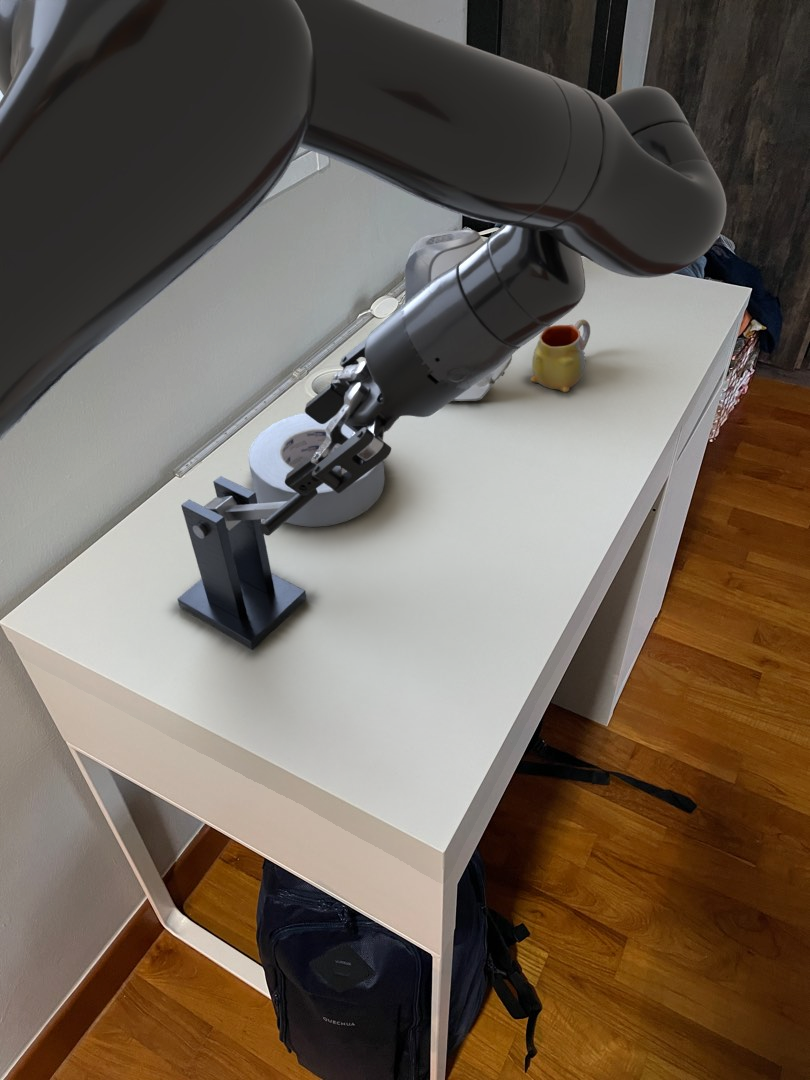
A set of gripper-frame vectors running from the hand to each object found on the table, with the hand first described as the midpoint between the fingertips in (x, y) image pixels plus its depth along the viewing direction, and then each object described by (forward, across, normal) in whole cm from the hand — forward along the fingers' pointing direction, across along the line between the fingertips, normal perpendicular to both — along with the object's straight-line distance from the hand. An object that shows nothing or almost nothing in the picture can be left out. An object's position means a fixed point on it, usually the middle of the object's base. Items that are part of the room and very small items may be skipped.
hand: (303, 450), depth 68 cm
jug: (+10, -38, +25) cm, 46 cm away
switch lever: (+8, +2, +2) cm, 8 cm away
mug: (-1, -45, +36) cm, 57 cm away
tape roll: (+19, -18, +13) cm, 29 cm away
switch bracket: (+20, +2, +8) cm, 22 cm away
